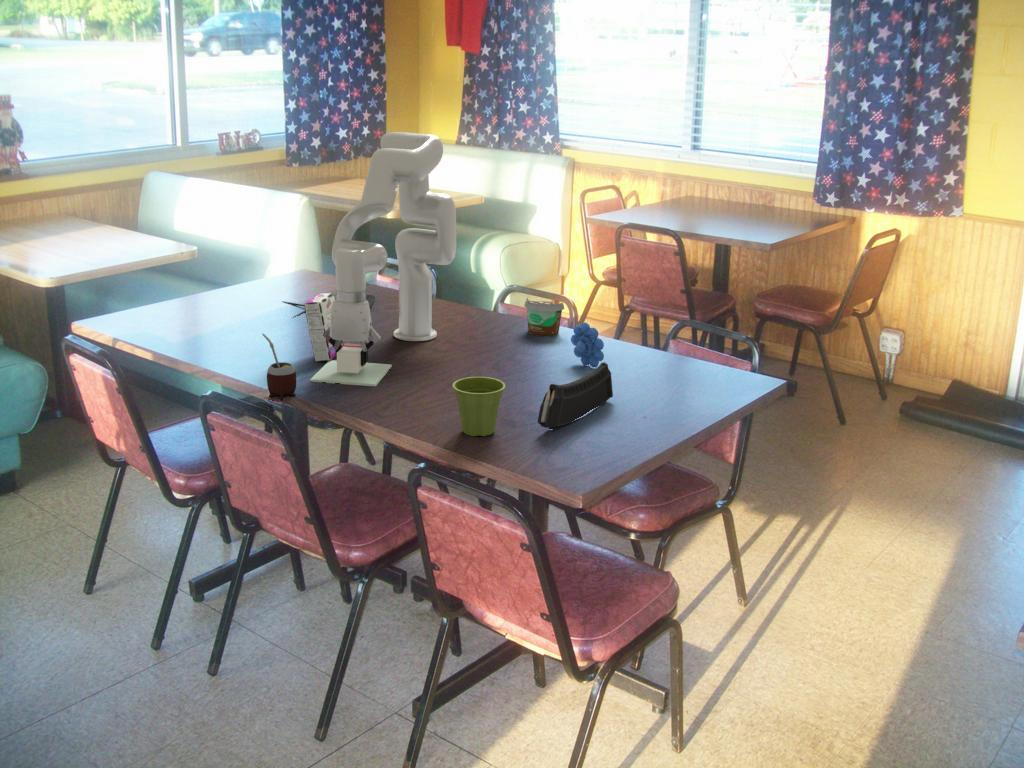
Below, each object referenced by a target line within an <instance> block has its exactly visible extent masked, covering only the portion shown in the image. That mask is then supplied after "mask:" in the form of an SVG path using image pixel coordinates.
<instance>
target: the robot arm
mask: <svg viewBox="0 0 1024 768" xmlns="http://www.w3.org/2000/svg"><path fill="white" fill-rule="evenodd" d="M443 154H444V146H443V142H442V140H441V139H440V137H439V136H437V135H435V134H429V133H417V132H405V131H404V132H403V131H391V132H387V133H384V134H383V135H382V136H381V138H380V148H379V149H376V150H375V151H374V153H372V156H371V159H370V162H369V167H368V170H367V176H366V179H365V183H364V187H363V189H362V190H363V191H362V195H361V196H362V197H361V199H360V201H359V202H358V203H357V204H356V205H355V206H353V207H352V208H351V209H350V210H349V211H348V212H347V213H346V214H345V216H344V217H343V218H342V219H341V220H340V222H339V224H338V225H337V228H336V230H335V231H336V232H335V234H334V239H333V243H332V249H331V259H332V263H333V264H334V265H335V289H332V290H330V293H331V296H335V299H336V300H334V301H333V304H332V310H331V322H330V327H329V328H328V329H327V330H326V331H325V332H324V333H323V336H324V337H325V338H326V339H327V340H328V341H329V342H330V343H331V344H332V346H333V347H334V349H336V357H335V360H336V361H337V352H338V351H339V350H340V349H341V348H342V342H343V343H344V341H345V342H359V344H361V347H362V351H361V366H364V365H365V364H366V362H367V363H369V362H368V361H369V349H370V348H371V347H373V345H374V344H377V342H379V341H380V340H381V338H382V337H381V335H380V334H379V332H377V331H376V330H375V329H374V327H373V323H372V322H373V321H372V313H371V307H369V303H368V301H367V300H366V295H367V292H366V291H367V288H366V286H367V284H366V283H367V282H366V279H367V277H366V275H367V274H369V273H372V274H373V273H377V272H379V271H381V270H383V269H384V268H385V266H386V265H387V262H388V258H389V257H388V255H389V254H388V252H387V250H386V248H385V247H384V245H382V244H380V243H376V242H370V241H369V242H368V241H362V240H361V241H360V240H354V239H353V236H354V234H355V233H356V231H357V230H358V229H359V228H360V227H361V226H362V225H364V224H366V223H367V222H370V221H372V220H375V219H378V218H380V217H384V216H385V215H388V214H390V213H391V212H392V211H393V209H394V205H395V200H396V196H397V192H398V201H399V202H398V204H399V205H398V206H399V215H400V219H401V220H402V222H403V223H406V224H409V225H412V226H413V225H414V226H420V227H421V226H422V227H423V226H424V227H432V228H434V229H435V230H434V229H433V230H432V229H425V228H417V227H416V228H415V227H414V228H413V227H411V228H405V229H402V230H401V231H399V232H398V234H397V235H396V238H395V241H394V242H395V243H394V244H395V245H394V246H395V253H396V257H397V258H396V259H397V264H398V266H397V268H398V328H396V329H395V330H394V331H393V337H395V338H396V339H398V340H402V341H406V342H426V341H431V340H433V339H435V338H436V337H437V335H438V333H437V330H435V329H433V328H432V327H433V326H432V307H433V306H432V305H433V296H432V295H433V277H432V273H431V271H430V269H429V267H428V265H427V264H429V265H437V266H438V265H440V266H446V265H447V266H448V265H450V264H452V263H453V262H454V260H455V258H456V253H457V209H456V208H457V207H456V204H455V201H454V200H453V198H452V196H451V195H449V194H447V193H442V192H434V191H431V190H430V184H429V183H430V182H429V175H430V173H431V172H432V171H433V170H434V169H435V168H436V167H437V166H438V165H439V163H441V160H442V157H443ZM352 239H353V240H352ZM370 337H372V339H370V340H369V338H370Z"/></svg>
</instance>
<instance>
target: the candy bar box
mask: <svg viewBox="0 0 1024 768" xmlns="http://www.w3.org/2000/svg"><path fill="white" fill-rule="evenodd" d="M334 300H335V296H331V292H324V293H323V292H321V293H318V294H316V295H314V296H313V297H312V298H311V299H309V300H307V301H306V302H304V303H303V305H304V306H303V307H304V311H306V313H305V317H306V320H307V327H308V333H309V337H310V342H311V348H312V352H313V359H314V362H329V361H331V360H333V359H336V349H334V347H333V346H332V344H331V343H330V342H329V341H328V340H327V339H326V338H325V337H324V336H323V333H324V332H325V331H326V330H327V329H328V328H329V327H330V322H331V310H332V304H333V301H334ZM343 345H344V341H343V342H342V347H343Z"/></svg>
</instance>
